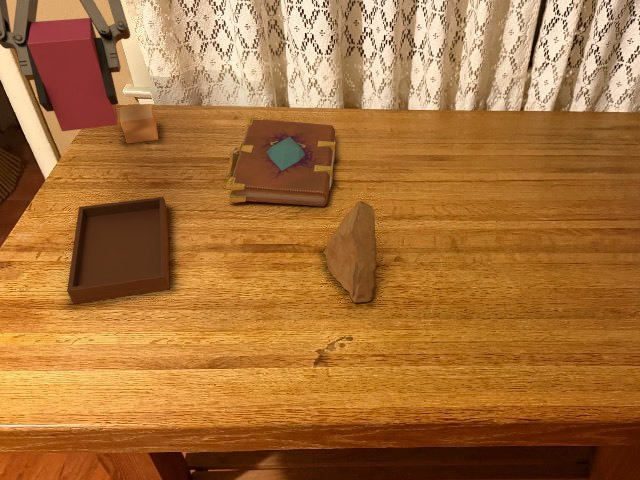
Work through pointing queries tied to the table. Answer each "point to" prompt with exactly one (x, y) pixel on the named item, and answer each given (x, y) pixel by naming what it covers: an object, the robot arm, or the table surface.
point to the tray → (120, 250)
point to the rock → (354, 252)
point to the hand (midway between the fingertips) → (80, 103)
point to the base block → (138, 123)
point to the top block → (71, 73)
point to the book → (283, 163)
